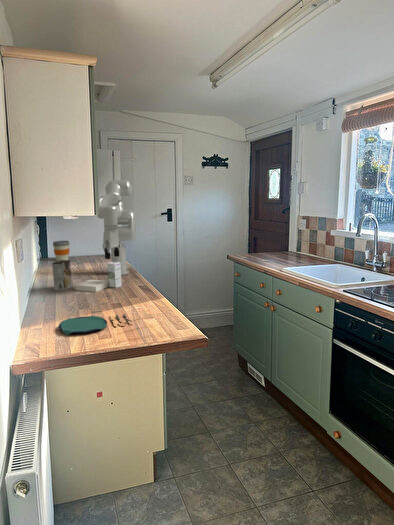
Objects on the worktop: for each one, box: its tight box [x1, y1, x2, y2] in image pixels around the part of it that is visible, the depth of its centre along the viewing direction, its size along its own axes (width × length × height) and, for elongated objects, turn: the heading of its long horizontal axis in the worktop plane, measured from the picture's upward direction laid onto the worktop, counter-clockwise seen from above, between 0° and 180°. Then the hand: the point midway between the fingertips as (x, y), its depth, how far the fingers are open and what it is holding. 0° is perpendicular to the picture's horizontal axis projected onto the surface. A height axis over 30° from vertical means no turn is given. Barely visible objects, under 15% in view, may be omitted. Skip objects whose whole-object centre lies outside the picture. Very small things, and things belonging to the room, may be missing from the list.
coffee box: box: [51, 259, 73, 291], centre depth 239 cm, size 9×6×16 cm
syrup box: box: [106, 261, 122, 289], centre depth 242 cm, size 6×6×14 cm
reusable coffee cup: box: [52, 240, 70, 262], centre depth 330 cm, size 13×12×15 cm
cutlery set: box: [57, 313, 132, 336], centre depth 176 cm, size 20×30×2 cm, turn 112°
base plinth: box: [74, 279, 109, 293], centre depth 240 cm, size 14×14×3 cm
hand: (112, 257), depth 239 cm, fingers open, 9 cm apart
